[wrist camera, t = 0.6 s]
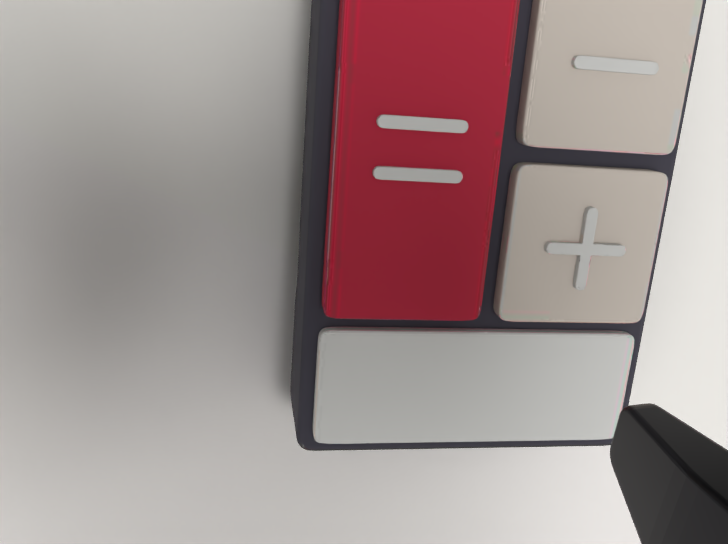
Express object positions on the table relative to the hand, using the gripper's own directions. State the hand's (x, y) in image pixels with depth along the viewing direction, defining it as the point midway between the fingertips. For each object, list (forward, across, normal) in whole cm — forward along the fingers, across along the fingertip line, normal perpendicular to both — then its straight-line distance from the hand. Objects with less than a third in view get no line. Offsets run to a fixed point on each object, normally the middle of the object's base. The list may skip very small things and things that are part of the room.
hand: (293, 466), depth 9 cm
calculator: (+14, -7, +4) cm, 16 cm away
